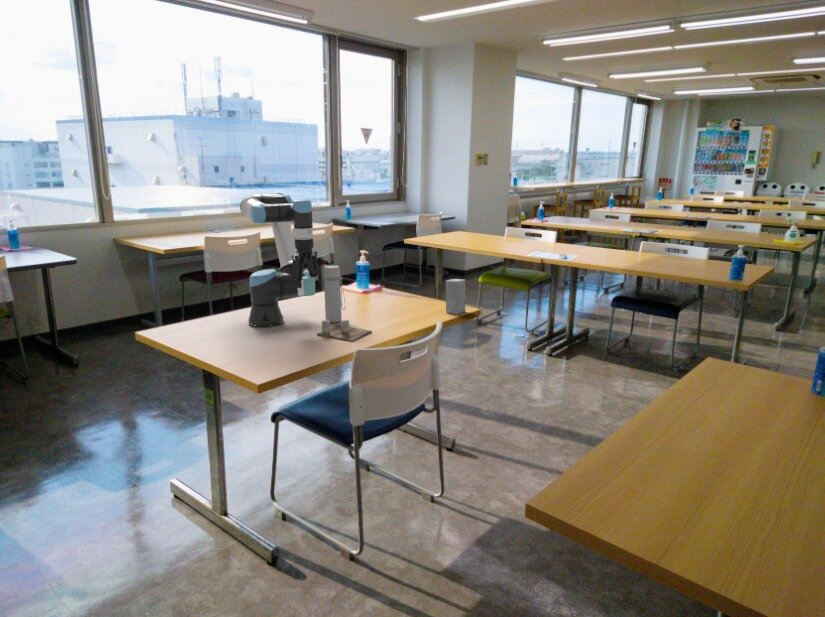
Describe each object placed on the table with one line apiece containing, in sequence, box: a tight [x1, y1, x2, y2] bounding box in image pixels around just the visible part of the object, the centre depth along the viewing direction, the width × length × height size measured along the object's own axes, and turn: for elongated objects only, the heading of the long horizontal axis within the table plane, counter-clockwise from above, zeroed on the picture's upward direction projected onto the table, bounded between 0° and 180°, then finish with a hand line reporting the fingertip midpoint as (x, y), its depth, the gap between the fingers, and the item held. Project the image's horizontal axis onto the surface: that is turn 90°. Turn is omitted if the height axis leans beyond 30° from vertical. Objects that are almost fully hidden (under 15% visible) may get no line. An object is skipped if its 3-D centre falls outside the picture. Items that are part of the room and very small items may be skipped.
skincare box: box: [445, 278, 466, 316], centre depth 264 cm, size 8×7×16 cm
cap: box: [302, 276, 316, 297], centre depth 231 cm, size 6×6×7 cm
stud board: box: [316, 319, 373, 343], centre depth 232 cm, size 18×15×6 cm
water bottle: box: [323, 265, 346, 324], centre depth 249 cm, size 9×8×25 cm
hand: (306, 293), depth 232 cm, fingers closed on cap, 6 cm apart
